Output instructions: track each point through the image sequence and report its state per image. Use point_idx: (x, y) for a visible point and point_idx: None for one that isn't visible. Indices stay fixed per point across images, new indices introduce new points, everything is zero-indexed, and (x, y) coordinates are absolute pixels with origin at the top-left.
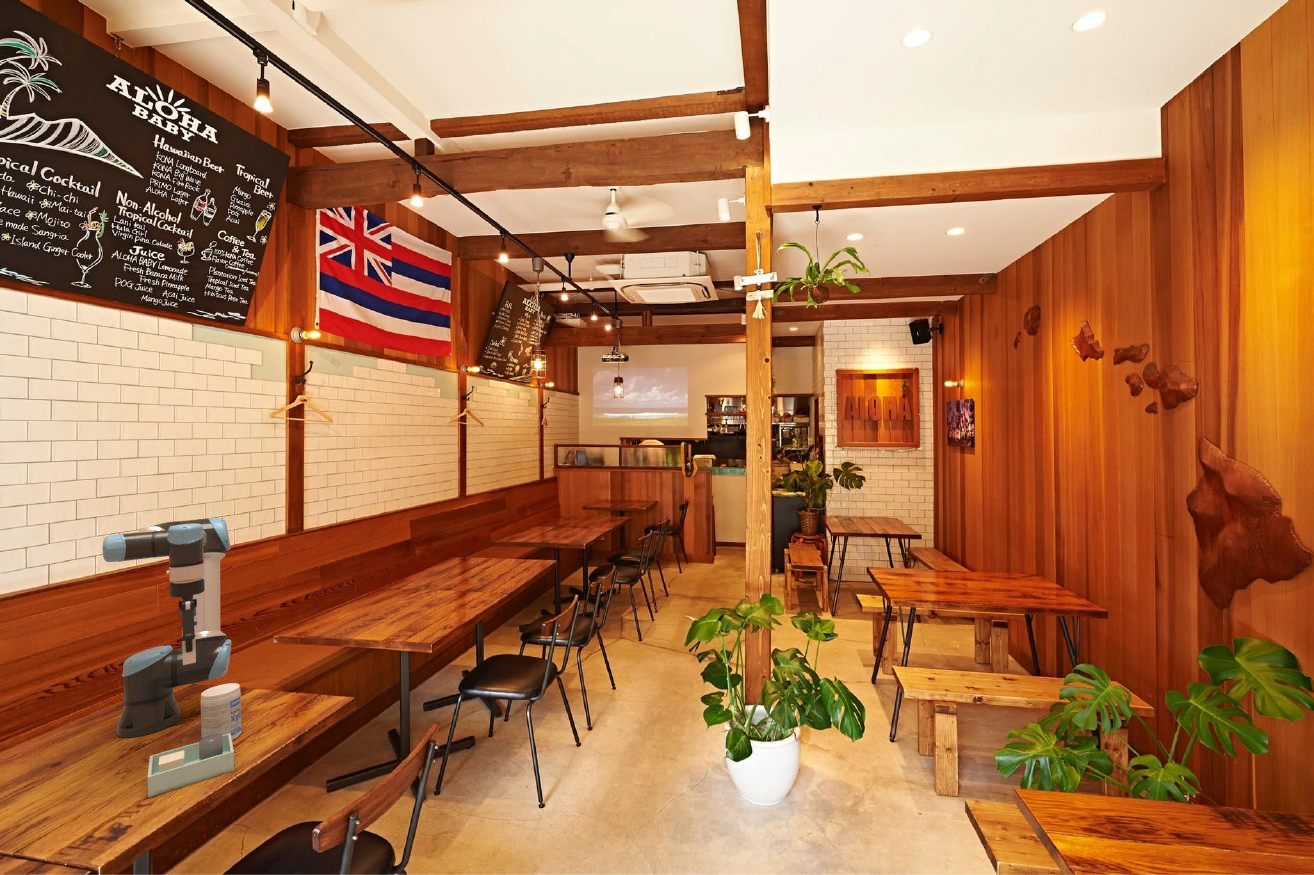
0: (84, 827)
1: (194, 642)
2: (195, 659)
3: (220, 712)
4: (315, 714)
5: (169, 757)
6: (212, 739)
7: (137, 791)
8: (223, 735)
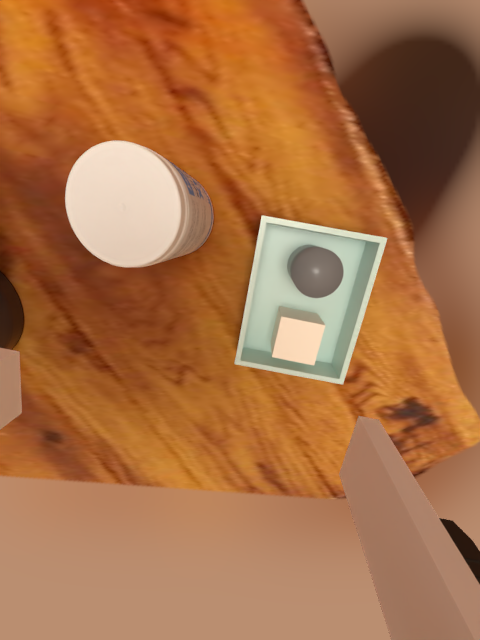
0: (347, 439)
1: (472, 586)
2: (387, 436)
3: (196, 224)
4: None
5: (294, 344)
6: (328, 272)
7: None
8: (262, 231)
